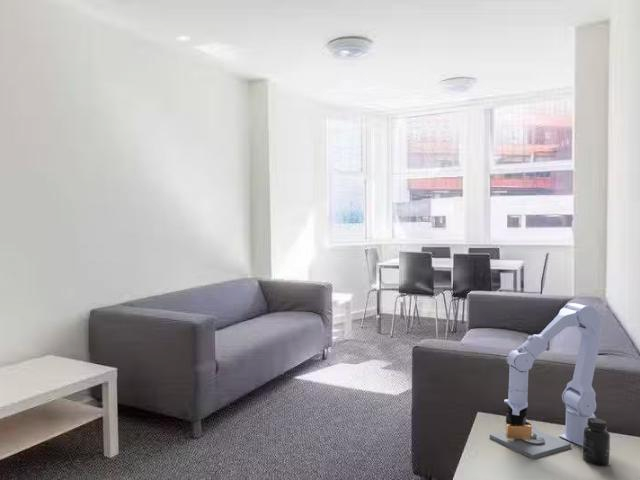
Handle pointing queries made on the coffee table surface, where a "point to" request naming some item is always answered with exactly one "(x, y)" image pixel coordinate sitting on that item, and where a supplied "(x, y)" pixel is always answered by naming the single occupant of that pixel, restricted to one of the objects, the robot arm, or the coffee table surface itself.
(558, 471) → the coffee table surface
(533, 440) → the orange block with disc
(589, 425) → the supplement bottle
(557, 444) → the board
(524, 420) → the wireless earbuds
